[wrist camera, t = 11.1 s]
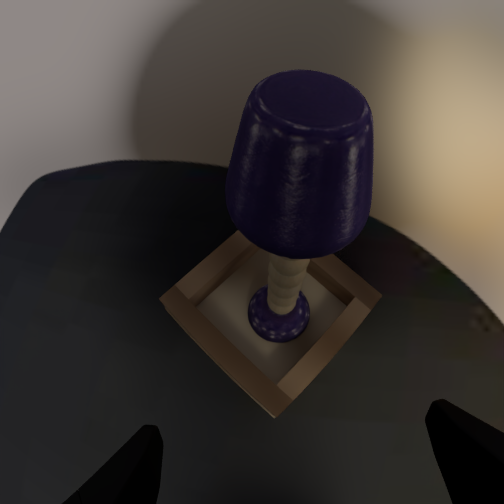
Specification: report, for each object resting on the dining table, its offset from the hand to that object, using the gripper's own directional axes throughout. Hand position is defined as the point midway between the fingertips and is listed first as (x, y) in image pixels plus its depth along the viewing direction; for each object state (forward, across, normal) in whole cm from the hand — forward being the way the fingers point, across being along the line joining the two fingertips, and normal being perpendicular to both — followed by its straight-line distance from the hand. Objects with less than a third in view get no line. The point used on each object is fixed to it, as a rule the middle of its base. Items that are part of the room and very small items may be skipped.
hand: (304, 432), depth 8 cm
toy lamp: (+13, 0, +3) cm, 13 cm away
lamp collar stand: (+14, 0, +3) cm, 14 cm away
